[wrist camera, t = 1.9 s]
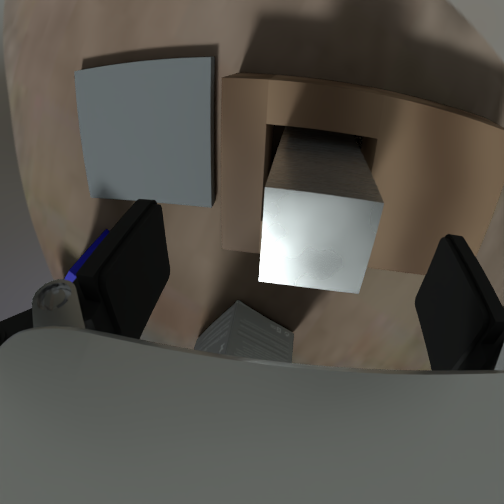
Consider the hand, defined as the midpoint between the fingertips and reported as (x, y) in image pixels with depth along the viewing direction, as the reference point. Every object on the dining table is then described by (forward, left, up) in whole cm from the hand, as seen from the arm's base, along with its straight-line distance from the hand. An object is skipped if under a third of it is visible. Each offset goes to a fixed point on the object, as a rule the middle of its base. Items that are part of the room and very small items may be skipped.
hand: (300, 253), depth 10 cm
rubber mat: (+11, -1, -11) cm, 16 cm away
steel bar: (-1, 0, -11) cm, 11 cm away
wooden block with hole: (-4, 0, -11) cm, 12 cm away
